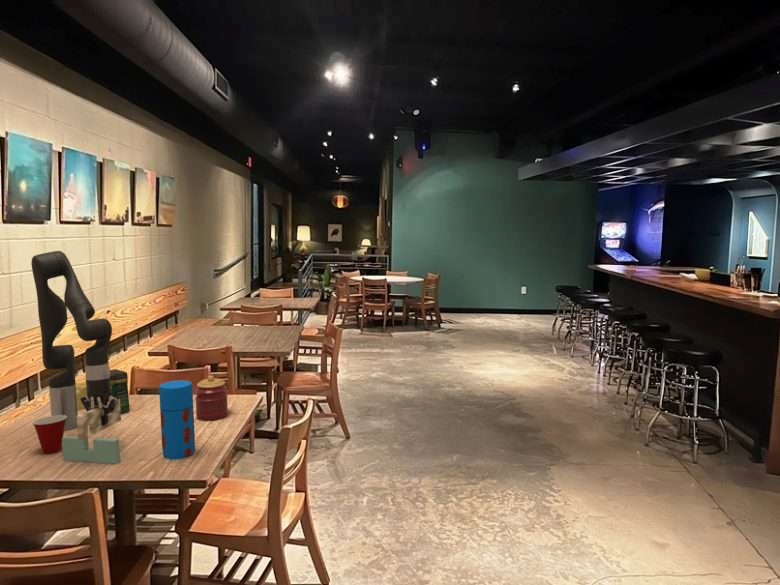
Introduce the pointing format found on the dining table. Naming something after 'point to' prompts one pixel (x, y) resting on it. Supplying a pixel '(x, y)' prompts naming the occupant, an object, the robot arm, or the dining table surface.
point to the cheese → (80, 394)
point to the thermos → (177, 419)
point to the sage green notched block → (91, 450)
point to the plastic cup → (50, 432)
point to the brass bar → (96, 421)
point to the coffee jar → (120, 388)
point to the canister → (211, 399)
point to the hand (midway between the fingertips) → (100, 424)
